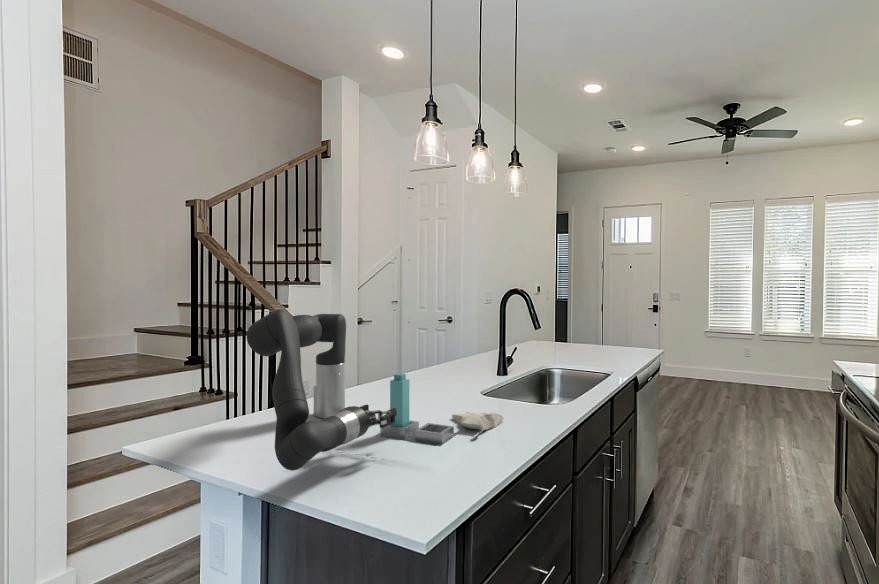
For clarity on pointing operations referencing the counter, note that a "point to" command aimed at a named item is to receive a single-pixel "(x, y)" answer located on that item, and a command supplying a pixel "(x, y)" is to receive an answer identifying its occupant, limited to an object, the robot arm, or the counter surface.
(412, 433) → the panel
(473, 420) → the rock
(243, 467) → the counter surface
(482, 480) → the counter surface
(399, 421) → the plug
